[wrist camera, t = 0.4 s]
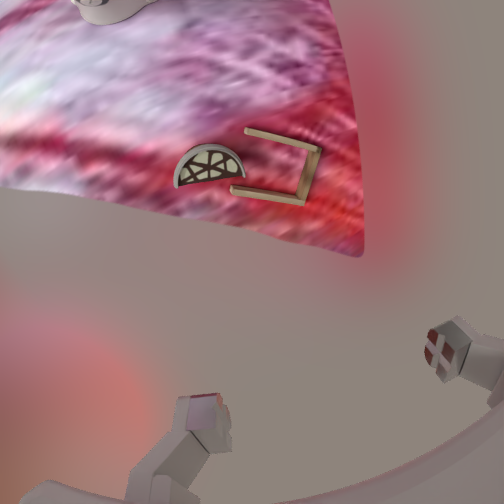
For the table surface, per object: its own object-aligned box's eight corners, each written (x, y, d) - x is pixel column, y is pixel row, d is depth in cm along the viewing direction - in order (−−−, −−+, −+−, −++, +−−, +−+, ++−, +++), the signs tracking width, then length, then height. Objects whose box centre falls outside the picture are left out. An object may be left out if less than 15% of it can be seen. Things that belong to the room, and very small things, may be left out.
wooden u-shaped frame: (245, 127, 49) (249, 128, 46) (315, 145, 55) (322, 148, 52) (229, 190, 55) (232, 194, 52) (297, 201, 61) (303, 206, 58)
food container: (232, 134, 49) (246, 141, 41) (234, 163, 52) (248, 177, 44) (168, 143, 46) (168, 152, 38) (173, 173, 50) (174, 189, 41)
